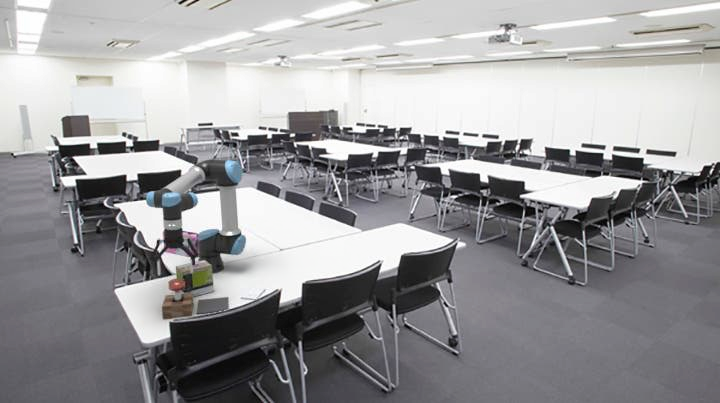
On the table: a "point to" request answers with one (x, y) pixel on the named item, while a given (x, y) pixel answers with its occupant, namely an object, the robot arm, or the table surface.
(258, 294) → the external hard drive
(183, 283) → the copper round-headed piece
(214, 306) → the rubber mat
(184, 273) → the tea box
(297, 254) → the table surface
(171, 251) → the gum box
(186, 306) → the eye block
